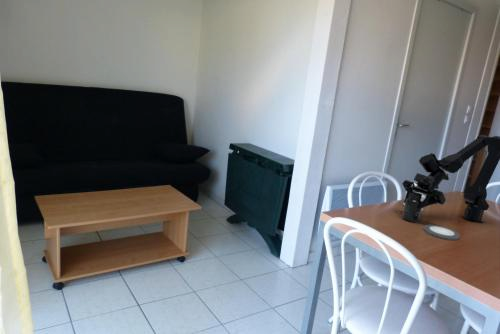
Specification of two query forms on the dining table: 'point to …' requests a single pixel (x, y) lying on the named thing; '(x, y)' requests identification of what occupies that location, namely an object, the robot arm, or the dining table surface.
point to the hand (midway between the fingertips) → (411, 205)
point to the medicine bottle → (417, 192)
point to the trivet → (441, 232)
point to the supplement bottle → (412, 207)
